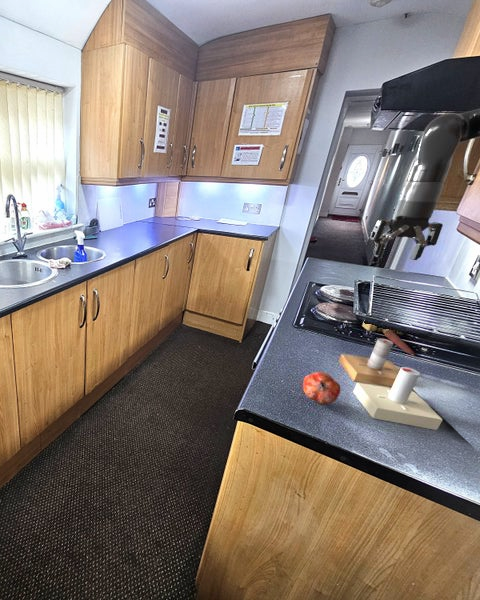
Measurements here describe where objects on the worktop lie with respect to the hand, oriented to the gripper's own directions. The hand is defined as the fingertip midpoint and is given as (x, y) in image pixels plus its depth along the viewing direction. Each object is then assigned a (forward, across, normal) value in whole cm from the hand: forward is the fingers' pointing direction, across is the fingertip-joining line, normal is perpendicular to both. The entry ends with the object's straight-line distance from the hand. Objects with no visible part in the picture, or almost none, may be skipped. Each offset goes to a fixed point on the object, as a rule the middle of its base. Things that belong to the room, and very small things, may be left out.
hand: (395, 258), depth 94 cm
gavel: (+30, +12, +6) cm, 33 cm away
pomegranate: (+30, -22, -33) cm, 50 cm away
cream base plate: (+30, -6, -32) cm, 44 cm away
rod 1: (+27, -4, -17) cm, 32 cm away
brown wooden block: (+30, -4, -17) cm, 35 cm away
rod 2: (+27, -6, -32) cm, 42 cm away
